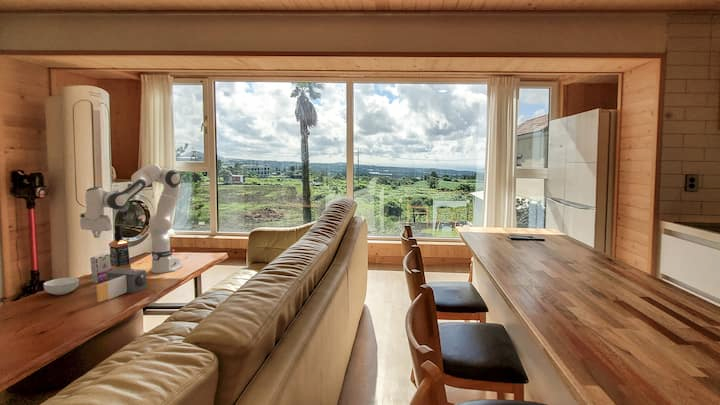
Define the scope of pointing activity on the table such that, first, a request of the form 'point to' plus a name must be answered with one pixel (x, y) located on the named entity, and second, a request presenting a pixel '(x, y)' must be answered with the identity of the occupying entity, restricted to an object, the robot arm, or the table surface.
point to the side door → (111, 288)
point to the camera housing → (130, 278)
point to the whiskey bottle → (119, 251)
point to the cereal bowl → (61, 285)
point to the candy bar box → (100, 267)
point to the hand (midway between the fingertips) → (97, 237)
